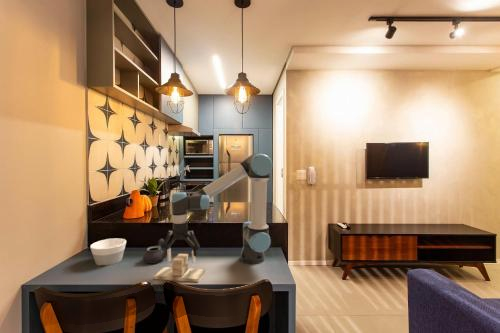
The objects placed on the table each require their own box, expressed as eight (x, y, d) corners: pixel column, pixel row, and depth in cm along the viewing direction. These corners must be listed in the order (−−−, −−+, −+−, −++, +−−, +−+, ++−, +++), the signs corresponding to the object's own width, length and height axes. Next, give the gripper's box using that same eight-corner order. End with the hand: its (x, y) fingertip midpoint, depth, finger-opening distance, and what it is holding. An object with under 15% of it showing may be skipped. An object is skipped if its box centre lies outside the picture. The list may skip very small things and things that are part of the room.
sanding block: (179, 268, 141) (179, 253, 140) (188, 269, 140) (188, 254, 140) (172, 276, 132) (172, 260, 131) (181, 276, 131) (181, 260, 131)
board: (205, 272, 140) (205, 269, 140) (198, 282, 129) (198, 279, 129) (164, 269, 143) (164, 266, 143) (154, 278, 132) (154, 276, 132)
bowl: (94, 270, 142) (93, 251, 141) (87, 260, 156) (87, 242, 156) (130, 261, 155) (130, 243, 154) (121, 252, 169) (121, 236, 169)
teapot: (167, 264, 151) (167, 247, 150) (140, 265, 149) (140, 248, 148) (173, 252, 169) (173, 237, 169) (149, 253, 168) (149, 238, 167)
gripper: (205, 220, 137) (206, 259, 138) (161, 219, 140) (162, 257, 141) (200, 224, 129) (201, 265, 130) (154, 223, 133) (155, 263, 134)
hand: (181, 261), depth 136 cm, fingers open, 13 cm apart
